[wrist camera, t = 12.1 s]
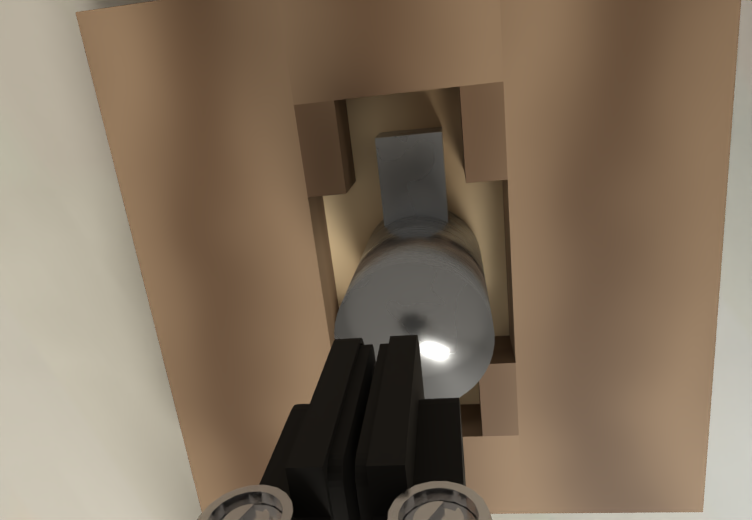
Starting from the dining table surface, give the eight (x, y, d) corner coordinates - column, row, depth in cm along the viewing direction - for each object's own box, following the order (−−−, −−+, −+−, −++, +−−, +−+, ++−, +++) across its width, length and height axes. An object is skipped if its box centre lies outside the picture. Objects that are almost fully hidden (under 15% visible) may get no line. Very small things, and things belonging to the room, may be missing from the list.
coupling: (487, 373, 21) (502, 486, 16) (379, 377, 22) (355, 488, 16) (473, 123, 19) (485, 150, 13) (350, 135, 19) (309, 167, 13)
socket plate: (704, -65, 17) (747, -85, 14) (675, 464, 22) (702, 512, 20) (121, 18, 19) (75, 12, 17) (226, 472, 25) (202, 515, 22)
